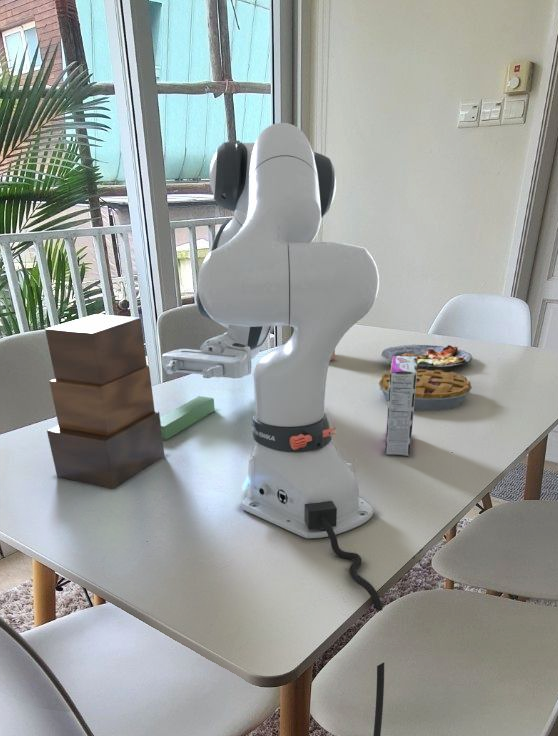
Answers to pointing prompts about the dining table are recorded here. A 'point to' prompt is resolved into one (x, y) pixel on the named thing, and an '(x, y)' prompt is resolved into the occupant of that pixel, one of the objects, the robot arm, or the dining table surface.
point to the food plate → (430, 355)
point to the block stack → (102, 401)
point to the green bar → (185, 416)
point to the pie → (434, 389)
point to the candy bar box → (401, 405)
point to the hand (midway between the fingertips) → (186, 372)
